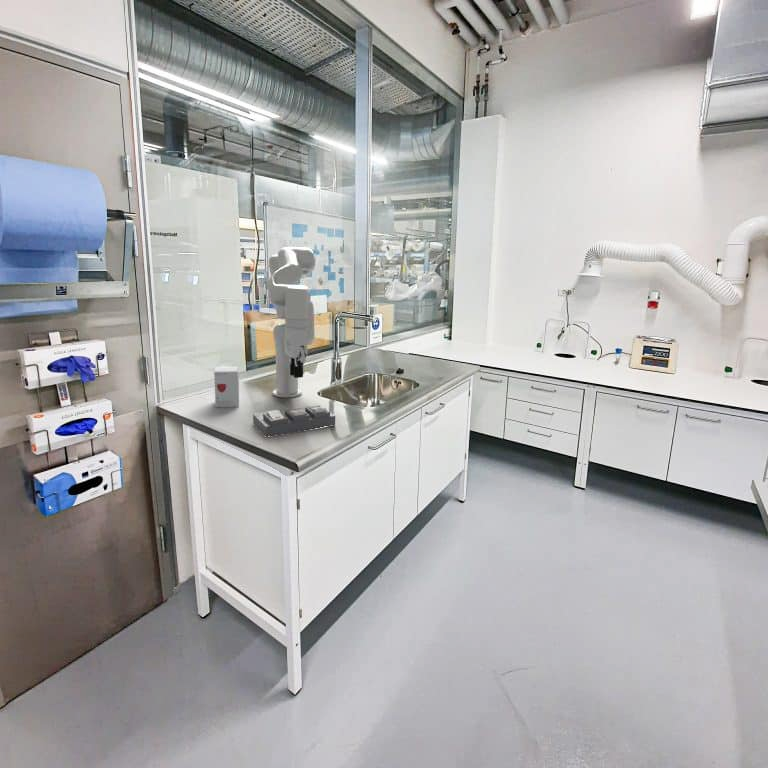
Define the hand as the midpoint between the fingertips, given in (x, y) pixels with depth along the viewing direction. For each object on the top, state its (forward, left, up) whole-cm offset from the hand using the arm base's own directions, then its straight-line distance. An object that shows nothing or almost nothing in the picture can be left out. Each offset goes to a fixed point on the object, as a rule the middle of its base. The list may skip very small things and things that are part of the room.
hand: (296, 375), depth 157 cm
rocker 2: (+1, +8, -14) cm, 16 cm away
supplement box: (-36, -15, -19) cm, 44 cm away
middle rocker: (+1, 0, -14) cm, 14 cm away
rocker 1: (+1, -8, -14) cm, 16 cm away
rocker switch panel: (-2, 0, -19) cm, 19 cm away
